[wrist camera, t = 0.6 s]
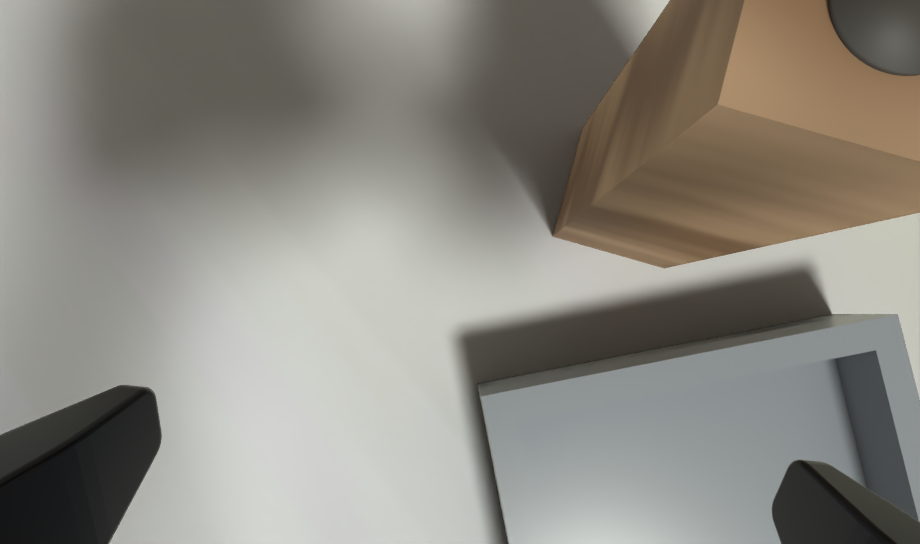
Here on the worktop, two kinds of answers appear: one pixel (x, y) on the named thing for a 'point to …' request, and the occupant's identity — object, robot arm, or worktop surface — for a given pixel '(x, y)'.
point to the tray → (703, 433)
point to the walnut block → (751, 130)
